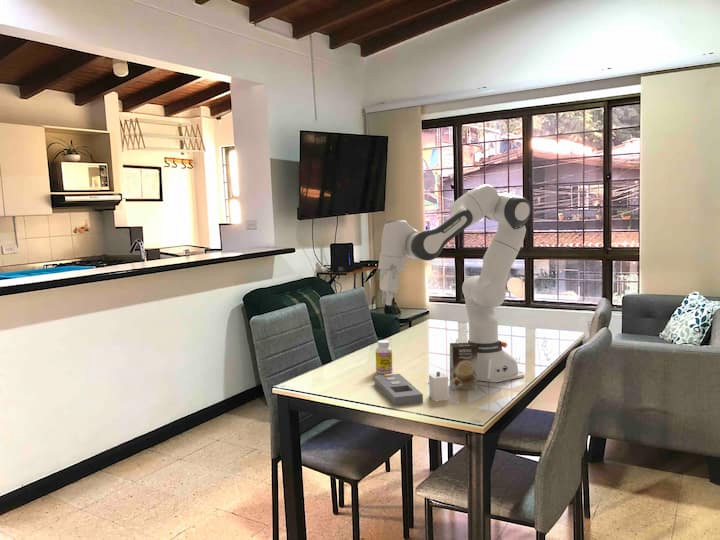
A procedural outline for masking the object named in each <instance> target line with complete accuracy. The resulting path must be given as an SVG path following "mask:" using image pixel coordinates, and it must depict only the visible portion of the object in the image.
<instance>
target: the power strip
mask: <svg viewBox="0 0 720 540" xmlns="http://www.w3.org/2000/svg"><path fill="white" fill-rule="evenodd" d="M373 380H374V385H375V386H376V387H377V388H378V389H379V390H380V391H381V392H382V394H383V395H384V396H385V397H386V398H387V399H388V400H389V401H390V402H391V404H392V405H393V406H395V407H396V406H398V407H399V406H404V405H405V406H406V405H415V403H416V404H421V403H422V404H423V403H424V398H423V396H424V395H423V393H422V392H421V391H419V389H417V388H416V387H415V386H414V385H413V384H412V383H411V382H410V381H408V380H407V379H406V378H405V377H404V376H403V375H401V374H400V373H388V374H381V375H375V376H374V379H373Z"/></svg>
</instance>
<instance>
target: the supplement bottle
mask: <svg viewBox="0 0 720 540" xmlns="http://www.w3.org/2000/svg"><path fill="white" fill-rule="evenodd" d="M375 371H376V373H377V374H380V375H384V374H392V372H393V349H392V348H391V346H390V340H388V339H387V340H386V339H380V340H378V341H377V347H376V348H375Z"/></svg>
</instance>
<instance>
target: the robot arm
mask: <svg viewBox="0 0 720 540" xmlns="http://www.w3.org/2000/svg"><path fill="white" fill-rule="evenodd" d="M531 210H532V207H531V202H530V201H529V200H528V199H527V198H526V197H524V196H521V195H516V194H512V193H507V192H506V193H505V192H504V193H502V192H498V191H497V189H496V188H495V187H494V186H492V185H491V184H486V183H485V184H481V185H479V186H477V187H474V188H472V189H470V190H469V191H467V192H466V193H464V194H463V195H461V196H459V197H458V198H457V199H456V200H455V201H454V202H453V203H452V204H451V205H450V207H449V216H450V217H448V219H446V220H445V221H443V222H442V223H441V224H440V225H438V226H436V228H434V229H430V230H424V231H419V230H417V229H415V228H414V227H413V226H412V225H410V224H409V223H408V221H406V220H405V219H395V220H392V219H391V220H389V221H387V222H386V223H385V224H384V226H383V230H382V234H381V235H382V236H381V241H380V245H381V251H380V253H379V258H378V268H377V269H378V270H379V290H381V291H382V292H381V294H382V297H381V298H382V299H381V303H382V304H385V305H386V306H392V302H393V299H394V294H397V293H398V291H399V281H400V280H399V279H400V272H403V271H404V266H405V259H406V258H405V257H407V258H409V259H412V260H423V261H433V260H435V259H436V258H438V256H439V255H440V254H441V253H442V251H443V249H444V248H445V247H446V245H447V244H448V243H449V242H450V241H451V240H452V239H454V238H455V237H457V235H459V234H460V233H462V232H463V231H464V230H465V229H467V228H468V227H470V226H473V225H474V224H476V223H478V222H479V221H480V220H482V219H483V218H486V219H487V220H490V221H494V222H497V230H496V232H495V233H494V235H493V237H492V239H491V241H490V243H489V245H488V248H487V249H486V251H485V253H484V255H483V257H482V266H481V267H482V268H481V272H480V275H478V274H477V275H472V276H469V277H468V278H466V279H465V280H464V281H463V283H462V286H461V290H462V294H463V297H464V301H465V307H466V312H467V319H468V320H467V321H468V340H467V343H474V344H475V345H476V346H477V381H480V382H481V381H482V382H488V383H499V382H504V381H510V380H515V379H521V378H524V377H525V374H524V372H523V371H522V370H520V369H519V366H518V362H517V360H516V358H514V357H513V356H512V355H511V354H509V353H508V352H506V351H505V350H504V349H505V348H507V347H508V343H507V342H505V341H501V340H499V330H498V329H499V326H498V325H499V321H498V318H497V316H496V313H495V308H497V307H499V306H501V305H502V304H503V303H504V301H505V299H506V286H507V283H508V278H509V275H510V271H511V268H512V267H513V264H514V263H515V260H516V258H517V256H518V255H519V252H520V250H521V247H522V245H523V243H524V240H525V236H526V233H527V228H526V224H527V222H528V220H529V219H530V216H531ZM503 348H504V349H503Z"/></svg>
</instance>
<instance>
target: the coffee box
mask: <svg viewBox="0 0 720 540" xmlns="http://www.w3.org/2000/svg"><path fill="white" fill-rule="evenodd" d="M449 386H450V387H451V389H452V390H454V391H457V390H459V391H460V390H463V389H464V390H477V389H478V380H477V346H476V345H475V344H474V343H468V342H449Z"/></svg>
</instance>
